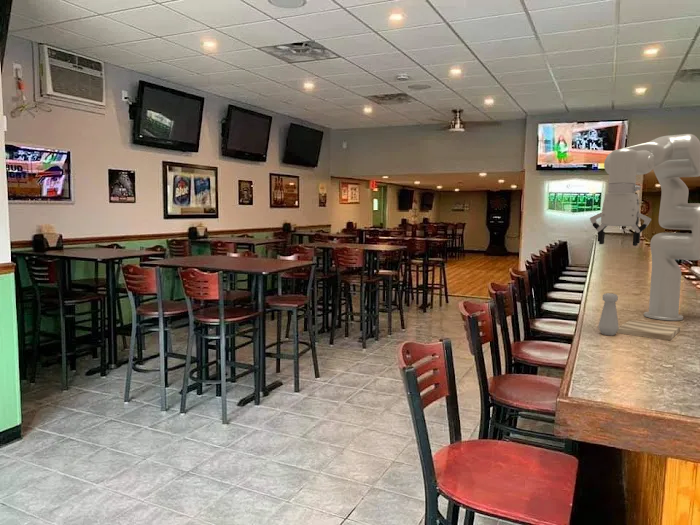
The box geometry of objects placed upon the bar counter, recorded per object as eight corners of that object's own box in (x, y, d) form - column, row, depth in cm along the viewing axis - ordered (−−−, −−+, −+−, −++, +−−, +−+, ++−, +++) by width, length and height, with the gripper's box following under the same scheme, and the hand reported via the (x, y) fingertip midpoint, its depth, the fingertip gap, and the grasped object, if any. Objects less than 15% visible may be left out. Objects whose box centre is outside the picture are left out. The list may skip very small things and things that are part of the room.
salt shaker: (620, 336, 164) (622, 295, 163) (600, 335, 165) (603, 294, 164) (614, 332, 170) (617, 292, 169) (595, 331, 171) (598, 292, 170)
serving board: (629, 324, 183) (629, 319, 183) (679, 330, 174) (680, 326, 174) (616, 332, 170) (616, 328, 170) (669, 340, 160) (670, 335, 160)
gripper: (655, 189, 161) (651, 245, 162) (595, 190, 172) (592, 243, 173) (650, 188, 155) (646, 246, 157) (588, 189, 166) (585, 243, 168)
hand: (618, 244), depth 165 cm, fingers open, 9 cm apart
